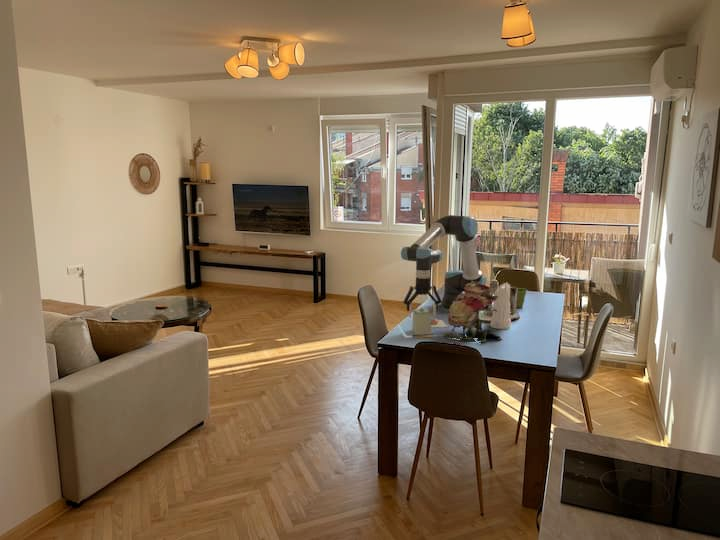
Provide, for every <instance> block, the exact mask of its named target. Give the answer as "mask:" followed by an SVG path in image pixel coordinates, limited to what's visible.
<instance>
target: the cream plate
mask: <svg viewBox="0 0 720 540" xmlns="http://www.w3.org/2000/svg"><path fill="white" fill-rule="evenodd" d="M444 327H447V328H448V327H449V325H447V323H445V322H444V320H443V319H438V318H434V317H433V318H432V317H431V328H444Z"/></svg>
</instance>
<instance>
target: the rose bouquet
mask: <svg viewBox="0 0 720 540" xmlns="http://www.w3.org/2000/svg"><path fill="white" fill-rule="evenodd" d="M466 286H467V287H464V290H465V291H466V292H462V294H459V295H458V296H457V298H456V299H455V300H454V301H452V302H453V304H452V305H451V306H450V308H448V312H449V316H448V317H447V320H448V322H447V323H448V324H449V325H450V326H451V327H453V328H452V329H451V332H444V333H443V335H444V336H443V337H447V338H451V339H452V338H456V339H460V340H459V342H463V343H465V342H466V343H465V344H467V342H468V343H470V342H476V341H475V340H474V339H473V338H478V339H479V341H481V342H479V343H482V344H483V343H484V342H489V341H490V340H489V339H487V338H486V337H487V336H491V337H493V338H497V340H502V338H501V336H500V335H497V334H495V333H492V332H493V331H494V328H490V329H483V327H482V326H483V325H482V323H484V322H485V320H482V321H480V317H479V315H480V312H487V311H488V312H489V311H492V312H493V311H497V312H498V310H496V309H493V307H490V305H492V303H494V301H495V300H497V298H498V296H494V295H491V294H492V288H491V286H487V284H486V285H483V284H480V283H478V282H475V281H472V282H471V283H468V284H466ZM507 314H508V313H507ZM461 327H462V333H456V332H455V331H456V329H455V328H458V329H459V328H461ZM466 329H467V332H466ZM465 332H466V333H465ZM467 333H468V334H467ZM465 334H467V336H468V335H469V336H468V337H466V336H465ZM460 337H461V338H460ZM469 337H472V338H469ZM447 338H446V339H447ZM478 339H477V340H478Z"/></svg>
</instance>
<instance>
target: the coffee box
mask: <svg viewBox="0 0 720 540" xmlns="http://www.w3.org/2000/svg"><path fill="white" fill-rule="evenodd" d="M517 291H518V286H513V285H510V312H511V313H514V312H515V313H516V312H517V308H516V304H517ZM511 313H510V314H511ZM515 313H514V314H515Z"/></svg>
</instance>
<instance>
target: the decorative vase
mask: <svg viewBox="0 0 720 540" xmlns="http://www.w3.org/2000/svg"><path fill="white" fill-rule="evenodd" d="M510 286H511V284H510V283H508V282H504V283H502V284H500V285H499V287H497V288H496V290H494V291H495V292H494V295H493V296H498V298H497V300H495V301H493V305H492V308H493V309H496V310H498V312H497V311H492V316H491V318H490V327H491V328H492V329H498V330H509V329H510V328H511V324H512V319H511V313H510ZM507 313H508V314H507Z"/></svg>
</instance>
